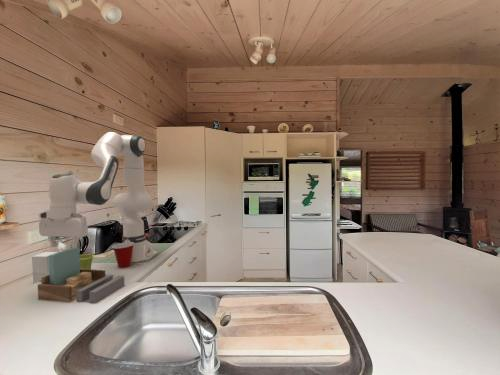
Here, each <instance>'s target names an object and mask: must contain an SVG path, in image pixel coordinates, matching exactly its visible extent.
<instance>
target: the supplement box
mask: <svg viewBox="0 0 500 375" xmlns="http://www.w3.org/2000/svg"><path fill="white" fill-rule="evenodd" d="M58 252H59V251H57V252H56V251H44V252H42V253H38V254H35V255H32V256H31V262H32V265H31V266H32V283H33V285H34V284H36V283H39V282H41V278H42V277H44V276H47V275H49V255H52V254H55V253H58Z"/></svg>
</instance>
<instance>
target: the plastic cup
mask: <svg viewBox="0 0 500 375" xmlns="http://www.w3.org/2000/svg"><path fill="white" fill-rule="evenodd" d="M133 245H134V242H125V243H123V242H121V243H120V242H119V243H116V244H114V245H112V246H111V248H112V249H113V251H114V256H115V260H116V262H117V267H118V268H121V269H123V268H129V267H130V266H131V263H132V262H131V258H132V250H133Z"/></svg>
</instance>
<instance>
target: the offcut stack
mask: <svg viewBox="0 0 500 375" xmlns="http://www.w3.org/2000/svg"><path fill="white" fill-rule="evenodd" d="M66 280H67V284H66V285H64V286H71V289H72V297H74V296H76V291H77V290H79V289H81V288H83V287H85V286H87V285H89V284H91V283H93V282H95V281H92V277H91V272H82V273H79V274H77V275H75V276H72V277H70V278H68V279H66Z"/></svg>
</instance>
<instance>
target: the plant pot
mask: <svg viewBox="0 0 500 375" xmlns="http://www.w3.org/2000/svg"><path fill="white" fill-rule="evenodd" d="M94 257H95V255H94V254H90V253H86V254H79V259H80V269H90V270H92V263H93V258H94Z"/></svg>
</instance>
